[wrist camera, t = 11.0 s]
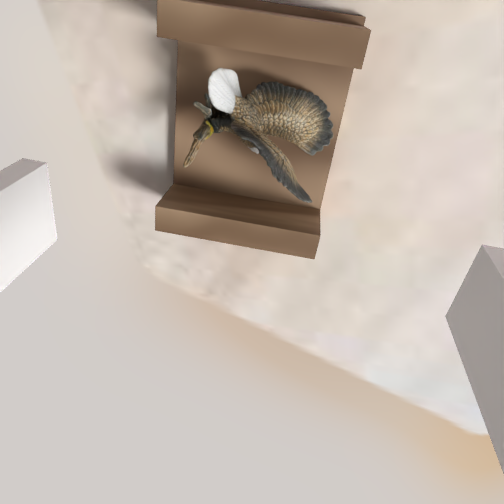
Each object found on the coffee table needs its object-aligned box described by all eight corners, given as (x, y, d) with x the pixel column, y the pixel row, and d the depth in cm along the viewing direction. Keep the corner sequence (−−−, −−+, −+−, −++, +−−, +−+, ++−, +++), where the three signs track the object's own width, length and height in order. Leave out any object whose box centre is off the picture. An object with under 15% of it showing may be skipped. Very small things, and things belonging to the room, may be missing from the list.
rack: (183, -12, 28) (157, -14, 23) (364, 16, 27) (373, 19, 23) (175, 207, 36) (155, 236, 32) (313, 232, 35) (313, 264, 31)
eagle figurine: (198, 180, 32) (310, 216, 31) (164, 152, 25) (307, 196, 24) (230, 87, 32) (343, 118, 31) (205, 33, 25) (350, 69, 24)
